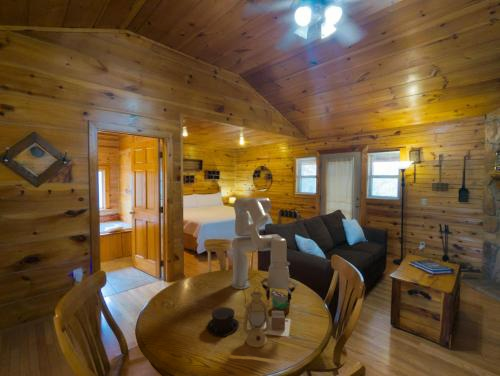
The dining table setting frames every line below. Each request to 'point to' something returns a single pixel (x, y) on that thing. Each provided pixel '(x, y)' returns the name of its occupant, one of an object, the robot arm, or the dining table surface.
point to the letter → (279, 332)
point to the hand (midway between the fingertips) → (278, 299)
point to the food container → (280, 301)
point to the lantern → (256, 320)
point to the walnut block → (278, 320)
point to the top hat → (222, 322)
